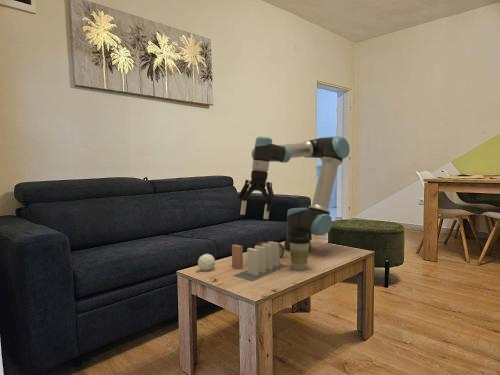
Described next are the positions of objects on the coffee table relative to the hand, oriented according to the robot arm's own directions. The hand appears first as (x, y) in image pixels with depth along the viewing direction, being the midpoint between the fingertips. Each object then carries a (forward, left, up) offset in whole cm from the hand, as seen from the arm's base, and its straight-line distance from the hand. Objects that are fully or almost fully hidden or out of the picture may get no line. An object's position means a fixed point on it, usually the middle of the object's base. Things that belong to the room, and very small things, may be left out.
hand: (253, 216), depth 154 cm
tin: (-17, -4, -25) cm, 30 cm away
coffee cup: (-12, +17, -25) cm, 32 cm away
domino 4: (-2, +6, -24) cm, 24 cm away
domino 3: (+3, +6, -24) cm, 24 cm away
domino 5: (-7, +6, -24) cm, 25 cm away
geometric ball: (+16, -15, -25) cm, 33 cm away
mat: (+2, +6, -24) cm, 25 cm away
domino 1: (+5, -6, -24) cm, 26 cm away
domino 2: (+8, +6, -24) cm, 26 cm away
